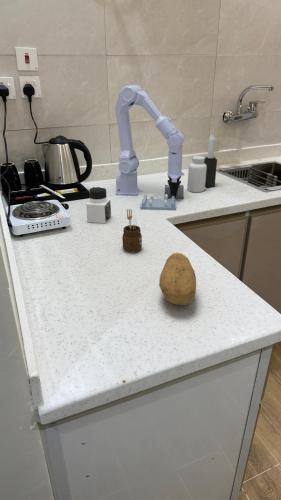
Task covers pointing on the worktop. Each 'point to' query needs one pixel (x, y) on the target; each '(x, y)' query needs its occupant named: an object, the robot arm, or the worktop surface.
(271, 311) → the worktop surface
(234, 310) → the worktop surface
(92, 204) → the medicine bottle
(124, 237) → the utensil holder
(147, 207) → the tray
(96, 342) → the worktop surface
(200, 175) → the pill bottle
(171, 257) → the potato
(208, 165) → the candle
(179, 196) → the block
